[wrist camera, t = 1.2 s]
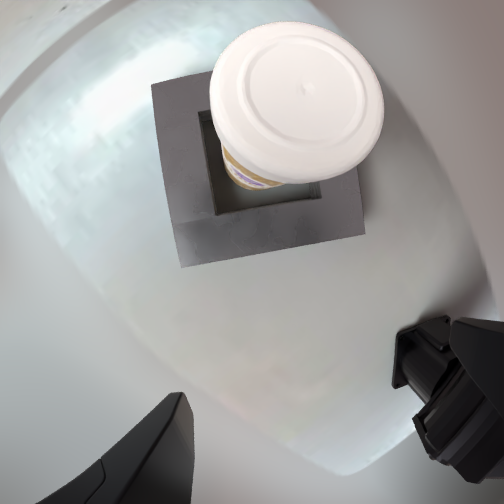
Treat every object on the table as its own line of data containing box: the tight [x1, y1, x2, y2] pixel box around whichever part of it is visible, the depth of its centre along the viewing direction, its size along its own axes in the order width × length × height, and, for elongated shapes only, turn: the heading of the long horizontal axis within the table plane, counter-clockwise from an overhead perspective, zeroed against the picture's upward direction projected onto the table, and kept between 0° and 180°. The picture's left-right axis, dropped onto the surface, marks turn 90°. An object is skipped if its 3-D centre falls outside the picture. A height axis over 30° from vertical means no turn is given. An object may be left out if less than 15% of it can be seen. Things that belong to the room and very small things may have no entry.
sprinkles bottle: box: [210, 21, 384, 191], centre depth 12 cm, size 5×5×13 cm
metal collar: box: [151, 71, 365, 268], centre depth 18 cm, size 12×12×2 cm
